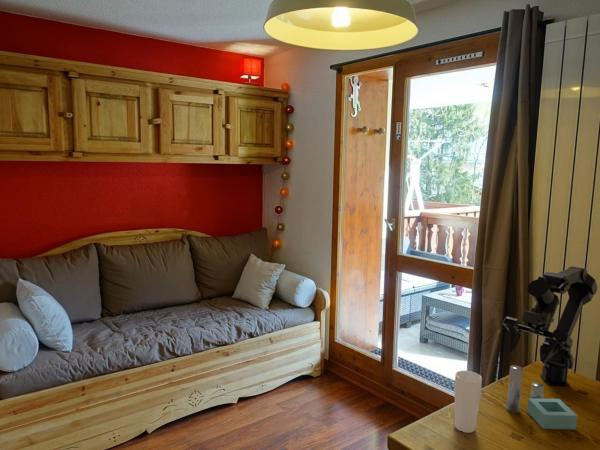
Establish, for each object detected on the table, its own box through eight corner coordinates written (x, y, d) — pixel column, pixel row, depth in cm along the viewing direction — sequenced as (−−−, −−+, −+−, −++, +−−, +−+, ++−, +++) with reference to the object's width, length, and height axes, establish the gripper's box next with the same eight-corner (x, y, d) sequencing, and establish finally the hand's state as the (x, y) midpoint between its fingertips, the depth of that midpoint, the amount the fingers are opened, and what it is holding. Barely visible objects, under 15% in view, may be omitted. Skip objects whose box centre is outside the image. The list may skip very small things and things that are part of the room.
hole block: (557, 411, 137) (559, 398, 137) (575, 429, 128) (577, 415, 128) (527, 411, 137) (528, 398, 137) (542, 428, 128) (544, 414, 128)
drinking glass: (474, 422, 131) (478, 371, 129) (481, 436, 124) (485, 382, 122) (449, 420, 131) (452, 369, 129) (454, 434, 125) (458, 380, 122)
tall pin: (515, 407, 139) (519, 365, 137) (521, 413, 136) (525, 370, 134) (504, 406, 139) (507, 365, 137) (509, 413, 136) (513, 370, 134)
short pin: (539, 396, 146) (540, 382, 146) (544, 401, 143) (546, 387, 142) (528, 396, 146) (529, 382, 146) (533, 401, 143) (535, 387, 142)
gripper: (505, 292, 146) (487, 338, 142) (570, 307, 132) (552, 358, 128) (517, 307, 153) (500, 351, 148) (580, 323, 139) (563, 372, 134)
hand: (526, 357), depth 140 cm, fingers open, 9 cm apart
